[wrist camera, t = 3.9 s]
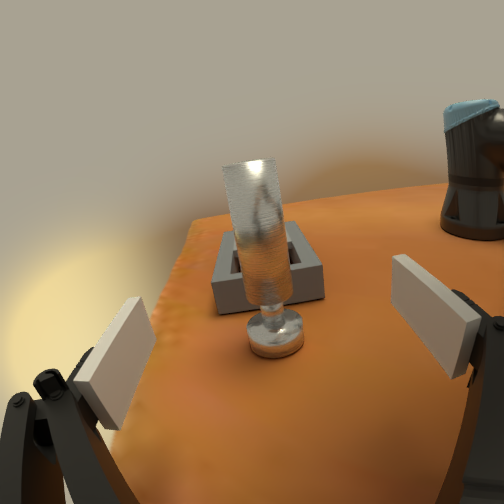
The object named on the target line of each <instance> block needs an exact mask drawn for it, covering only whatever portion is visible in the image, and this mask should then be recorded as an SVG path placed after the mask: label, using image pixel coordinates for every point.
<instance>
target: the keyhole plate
mask: <svg viewBox="0 0 504 504" xmlns="http://www.w3.org/2000/svg"><path fill="white" fill-rule="evenodd" d="M284 223H285V230H286V237H287V245H288V252H289V254H290V257H291V259H292V262H293V264H291V265H290V268H291V276H292V284H293V295H292V296H291V297H290V298H289V299H288V300H286V301H284V302H283V305H285V304H291V303H297V302H303V301H308V300H314V299H319V298H325V293H324V279H323V266H322V263H321V262H320V260H319V259H318V257H317V255H316V254H315V252H314V251H313V249H312V247H311V246H310V244H309V243H308V241H307V240H306V238H305V236H304V235H303V233H302V232H301V230H300V229H299V227H298V225H297V224H296V222H295V221H290V222H284ZM211 284H212V289H213V293H214V297H215V301H216V305H217V309H218V313H219V314H225V313H232V312H240V311H246V310H253V309H260V306H258V305H254V304H251V303H250V302H248V300H247V298H246V293H245V288H244V283H243V278H242V273H239V257H238V252H237V246H236V241H235V236H234V231H228V232H224V234H223V238H222V242H221V246H220V249H219V253H218V257H217V261H216V265H215V269H214V273H213V277H212V281H211Z"/></svg>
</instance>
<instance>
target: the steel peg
mask: <svg viewBox="0 0 504 504" xmlns="http://www.w3.org/2000/svg"><path fill="white" fill-rule="evenodd" d="M222 171H223V176H224V182H225V188H226V192H227V198H228V204H229V209H230V215H231V220H232V225H233V231H234V236H235V241H236V246H237V252H238V257H239V262H240V267H241V273H242V278H243V283H244V288H245V293H246V298H247V300H248V302H250V303H251V304H254V305H258V306H260V309H261V313H259V314H257V315H255V316H254V317H252V318H251V319H250V320H249V322H248V324H247V332H248V337H249V341H250V346H251V349H252V350H253V352H255V353H256V354H257V355H260V356H262V357H267V358H279V357H284V356H287V355H290V354H292V353H294V352H295V351H297V350H298V349H299V348H300V347H301V346H302V344H303V342H304V333H303V322H302V317H301V316H300V315H299V314H298V313H297V312H295V311H293V310H289V309H284V306H283V302H284V301H286V300H288V299H289V298H290V297H291V296H292V295H293V284H292V276H291V268H290V260H289V252H288V245H287V237H286V230H285V223H284V216H283V209H282V202H281V195H280V188H279V181H278V175H277V168H276V162H275V158H264V159H256V160H250V161H244V162H238V163H234V164H229V165H225V166H222Z"/></svg>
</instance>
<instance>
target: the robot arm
mask: <svg viewBox="0 0 504 504" xmlns="http://www.w3.org/2000/svg"><path fill="white" fill-rule="evenodd" d="M499 107H500V106H499V104H498V102H497V101H496V100H491V99H490V100H486V99H482V100H471V101H465V102H460V103H455V104H452V105H450V106H448V107H447V108H446V109H445V110H444V113H443V115H444V133H445V137H446V146H447V159H448V177H449V185H448V190H447V193H446V197H445V201H444V204H443V207H442V211H441V222H440V225H441V227H442V228H443V229H444V230H445V231H447V232H449V233H451V234H454V235H457V236H461V237H465V238H470V239H478V240H496V239H502V238H504V109H500V108H499ZM391 303H392V305H393V306H394V307H395V308H396V309H397V311H398V312H399V313H400V314H401V316H402V317H403V318H404V319H405V320H406V322H407V323H408V324H409V325H410V327H411V328H412V329H413V330H414V332H415V333H416V334H417V335H418V337H419V338H420V339H421V340H422V342H423V343H424V344H425V346H426V347H427V348H428V349H429V351H430V352H431V353H432V355H433V356H434V357H435V358H436V360H437V361H438V362H439V364H440V365H441V366H442V368H443V369H444V370H445V372H446V373H447V375H448V376H449V377H450V379H454V378H456V377H458V376H461V375H463V374H465V373H466V370H467V367H468V364H469V362H470V363H471V365H472V366H473V367H474V369H473V371H472V374H471V377H470V380H469V382H468V385H467V387H468V388H469V392H468V398H467V403H466V408H465V412H464V417H463V421H462V425H461V429H460V433H459V436H458V440H457V444H456V447H455V450H454V454H453V457H452V460H451V463H450V466H449V469H448V472H447V475H446V478H445V480H444V483H443V486H442V488H441V491H440V493H439V496H438V498H437V501H436V503H435V504H504V317H502V316H495V317H491V316H490V315H489V314H487V313H486V312H485V311H484V310H483V309H482V308H480V307H479V306H478V305H477V304H475V303H474V302H473V301H472V300H470V298H468V297H467V296H466V295H465V294H463V293H462V292H459V291H457V290H454V289H453V290H450V289H449V288H447V287H446V286H445V285H444V284H442V283H441V282H440V281H439V280H438V279H436V278H435V277H434V276H433V275H431V274H430V273H429V272H427V271H426V270H425V269H424V268H422V267H421V266H420V265H419V264H417V263H416V262H415V261H413V260H412V259H411V258H409V257H408V256H407V255H405V254H402V255H397V256H392V288H391ZM155 342H156V337H155V334H154V332H153V329H152V326H151V324H150V321H149V318H148V315H147V313H146V310H145V307H144V304H143V301H142V298H141V297H140V296H139V297H132V298H128V299H127V301H126V302H125V303H124V305H123V306H122V308H121V309H120V310H119V312H118V313H117V315H116V316H115V318H114V319H113V320H112V322H111V323H110V325H109V326H108V328H107V329H106V331H105V332H104V334H103V335H102V337H101V338H100V340H99V341H98V343H97V344H96V346H95V347H92V348H90V349H89V350H88V351H87V352H86V353H84V355H83V356H82V358H81V359H80V362H78V364H77V365H76V368H74V370H73V371H72V373H71V375H70V376H69V378H68V379H67V381H66V382H65V380H64V379H63V377H62V375H61V374H60V372H59V371H58V370H57V369H48V370H45V371H43V372H41V373H40V374H39V375H38V376H37V377H36V378H35V380H34V382H33V386H34V387H35V389H36V390H37V392H38V393H39V395H40V396H41V398H42V399H40V400H33V399H32V398H31V396H30V395H29V393H27V392H20V393H17V394H15V395H14V396H13V397H12V398H11V399H10V400H9V402H8V405H7V409H6V413H5V418H4V422H3V427H2V433H1V438H0V504H66V501H65V492H64V482H63V476H64V479H65V482H66V485H67V488H68V490H69V492H70V495H71V498H72V500H73V503H74V504H140V503H139V502H138V500H137V499H136V497H135V496H134V494H133V492H132V491H131V489H130V488H129V486H128V484H127V483H126V481H125V479H124V478H123V476H122V474H121V472H120V471H119V469H118V467H117V465H116V464H115V462H114V460H113V458H112V456H111V454H110V452H109V450H108V448H107V446H106V444H105V443H104V440H103V438H102V436H101V434H100V432H99V431H98V429H97V428H96V424H97V422H98V420H99V421H100V423H101V424H102V426H103V427H104V428H105V429H109V430H121V427H122V425H123V422H124V419H125V417H126V414H127V411H128V409H129V406H130V404H131V401H132V398H133V396H134V393H135V391H136V388H137V386H138V383H139V381H140V378H141V376H142V373H143V371H144V368H145V366H146V363H147V361H148V359H149V356H150V354H151V351H152V349H153V347H154V344H155Z"/></svg>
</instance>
